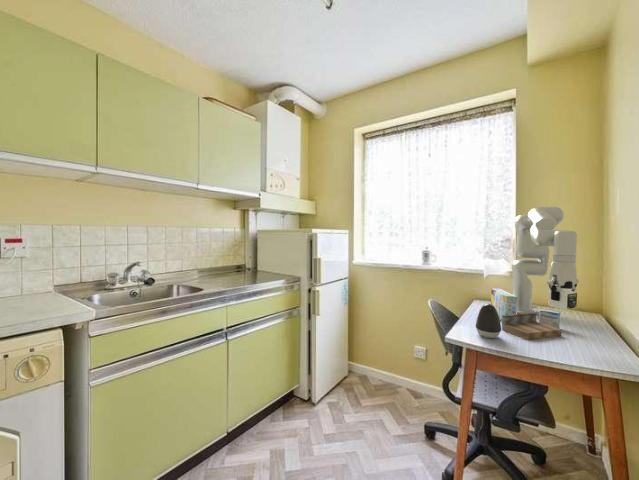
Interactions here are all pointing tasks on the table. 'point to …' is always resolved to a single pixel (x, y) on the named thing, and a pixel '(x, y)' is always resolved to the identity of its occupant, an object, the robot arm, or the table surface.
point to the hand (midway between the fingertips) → (562, 299)
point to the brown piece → (528, 326)
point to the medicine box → (550, 318)
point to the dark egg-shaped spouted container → (488, 322)
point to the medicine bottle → (565, 297)
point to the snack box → (503, 302)
